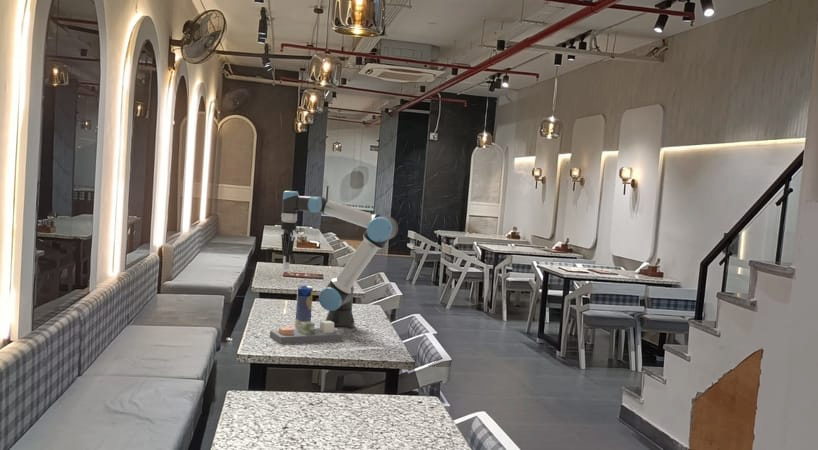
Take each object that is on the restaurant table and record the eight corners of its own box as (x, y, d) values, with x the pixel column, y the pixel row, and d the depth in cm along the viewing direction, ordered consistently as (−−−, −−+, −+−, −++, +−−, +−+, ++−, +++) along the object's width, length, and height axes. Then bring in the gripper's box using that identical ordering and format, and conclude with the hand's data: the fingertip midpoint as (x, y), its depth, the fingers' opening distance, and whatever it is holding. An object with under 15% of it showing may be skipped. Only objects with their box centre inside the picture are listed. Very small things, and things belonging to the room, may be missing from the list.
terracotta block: (288, 338, 327) (289, 327, 327) (292, 340, 323) (293, 329, 323) (278, 338, 325) (279, 327, 324) (282, 341, 320) (283, 330, 320)
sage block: (309, 332, 332) (310, 321, 332) (313, 334, 328) (314, 323, 328) (299, 332, 330) (300, 321, 329) (303, 334, 325) (304, 324, 325)
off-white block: (329, 331, 337) (330, 320, 337) (333, 333, 333) (334, 322, 333) (319, 331, 335) (320, 321, 335) (323, 333, 331) (324, 323, 330)
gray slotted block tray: (329, 336, 343) (330, 327, 342) (342, 342, 331) (342, 334, 330) (269, 339, 327) (270, 330, 327) (280, 346, 315) (281, 337, 315)
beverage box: (308, 330, 352) (311, 286, 351) (309, 335, 341) (312, 289, 340) (294, 329, 351) (297, 285, 350) (295, 334, 340) (298, 288, 339)
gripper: (277, 220, 361) (274, 266, 363) (286, 222, 350) (283, 270, 352) (291, 220, 365) (288, 266, 367) (300, 223, 354) (297, 270, 356)
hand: (285, 268), depth 359 cm, fingers closed
